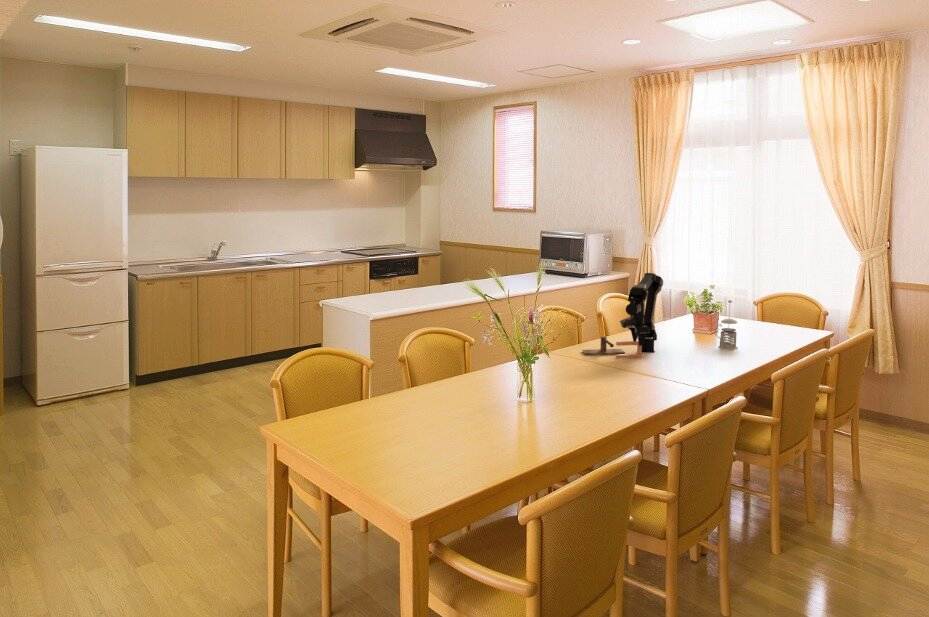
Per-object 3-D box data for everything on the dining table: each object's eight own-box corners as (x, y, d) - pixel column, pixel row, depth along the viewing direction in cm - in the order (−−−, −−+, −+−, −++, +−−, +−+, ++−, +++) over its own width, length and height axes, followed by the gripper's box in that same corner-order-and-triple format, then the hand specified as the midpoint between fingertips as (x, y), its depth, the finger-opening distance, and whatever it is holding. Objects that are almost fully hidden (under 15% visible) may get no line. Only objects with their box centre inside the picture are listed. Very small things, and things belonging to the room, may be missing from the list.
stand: (620, 351, 361) (621, 335, 360) (632, 360, 340) (632, 343, 339) (582, 352, 360) (582, 335, 359) (591, 361, 339) (591, 344, 338)
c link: (639, 357, 348) (640, 341, 346) (641, 358, 345) (641, 342, 344) (615, 357, 347) (616, 341, 346) (617, 358, 345) (617, 342, 343)
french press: (739, 350, 360) (742, 301, 356) (716, 349, 362) (718, 301, 358) (735, 345, 369) (738, 298, 365) (712, 345, 371) (714, 298, 367)
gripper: (616, 309, 352) (616, 340, 354) (627, 316, 333) (626, 348, 336) (638, 309, 352) (637, 339, 355) (650, 315, 334) (649, 347, 336)
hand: (637, 343), depth 345 cm, fingers open, 9 cm apart
